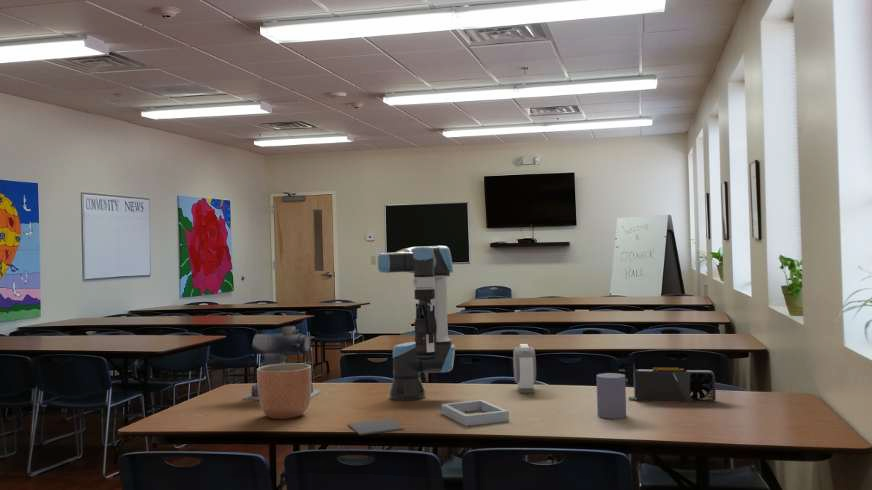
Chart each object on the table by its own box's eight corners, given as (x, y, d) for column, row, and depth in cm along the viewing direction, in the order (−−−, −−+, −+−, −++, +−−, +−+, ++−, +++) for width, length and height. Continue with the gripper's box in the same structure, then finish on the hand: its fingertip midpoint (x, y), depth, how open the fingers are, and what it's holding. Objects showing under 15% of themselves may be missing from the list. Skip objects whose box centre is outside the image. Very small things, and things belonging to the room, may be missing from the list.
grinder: (258, 391, 346) (256, 325, 346) (322, 392, 340) (320, 324, 340) (240, 399, 327) (238, 329, 328) (308, 400, 322) (306, 328, 322)
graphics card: (628, 401, 300) (627, 365, 300) (628, 399, 305) (627, 363, 305) (715, 403, 292) (715, 367, 292) (714, 401, 297) (713, 365, 297)
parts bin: (441, 413, 288) (441, 404, 288) (482, 408, 294) (482, 399, 294) (465, 426, 266) (465, 416, 266) (509, 420, 272) (508, 411, 272)
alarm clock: (537, 393, 320) (535, 346, 320) (517, 394, 320) (516, 347, 320) (532, 386, 338) (531, 341, 338) (513, 386, 338) (512, 342, 338)
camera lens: (435, 361, 270) (434, 319, 270) (413, 361, 271) (412, 319, 271) (439, 357, 278) (438, 317, 278) (418, 357, 279) (417, 317, 279)
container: (610, 420, 268) (609, 379, 268) (591, 415, 277) (590, 375, 277) (632, 417, 272) (631, 375, 273) (613, 412, 282) (612, 372, 282)
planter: (253, 414, 297) (252, 366, 297) (305, 408, 305) (304, 361, 305) (263, 424, 278) (262, 373, 278) (318, 418, 286) (316, 368, 286)
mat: (347, 425, 273) (347, 423, 273) (389, 420, 278) (389, 418, 278) (359, 435, 258) (359, 433, 258) (403, 429, 263) (403, 427, 263)
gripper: (405, 287, 283) (407, 348, 283) (424, 290, 264) (426, 354, 263) (424, 286, 286) (426, 346, 286) (444, 289, 266) (446, 353, 266)
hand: (426, 350), depth 275 cm, fingers closed on camera lens, 8 cm apart
